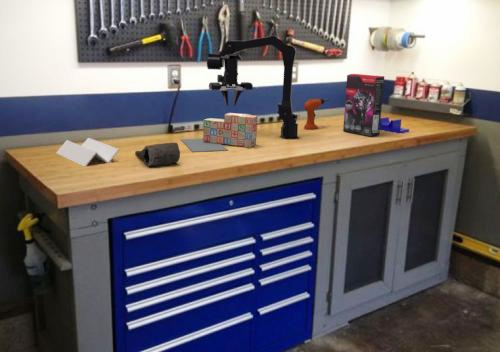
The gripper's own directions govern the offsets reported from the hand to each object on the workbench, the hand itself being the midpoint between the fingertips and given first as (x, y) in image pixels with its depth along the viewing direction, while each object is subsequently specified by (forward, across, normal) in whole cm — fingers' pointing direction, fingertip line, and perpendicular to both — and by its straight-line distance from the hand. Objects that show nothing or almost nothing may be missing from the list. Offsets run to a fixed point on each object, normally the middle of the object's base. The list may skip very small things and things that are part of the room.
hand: (230, 105), depth 230 cm
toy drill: (+13, -47, -9) cm, 50 cm away
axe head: (+14, +38, +39) cm, 56 cm away
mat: (+13, +17, +20) cm, 29 cm away
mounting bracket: (+14, -80, +4) cm, 81 cm away
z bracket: (+14, +63, +31) cm, 71 cm away
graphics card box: (+13, -61, +10) cm, 63 cm away
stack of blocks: (+13, +6, +20) cm, 25 cm away
